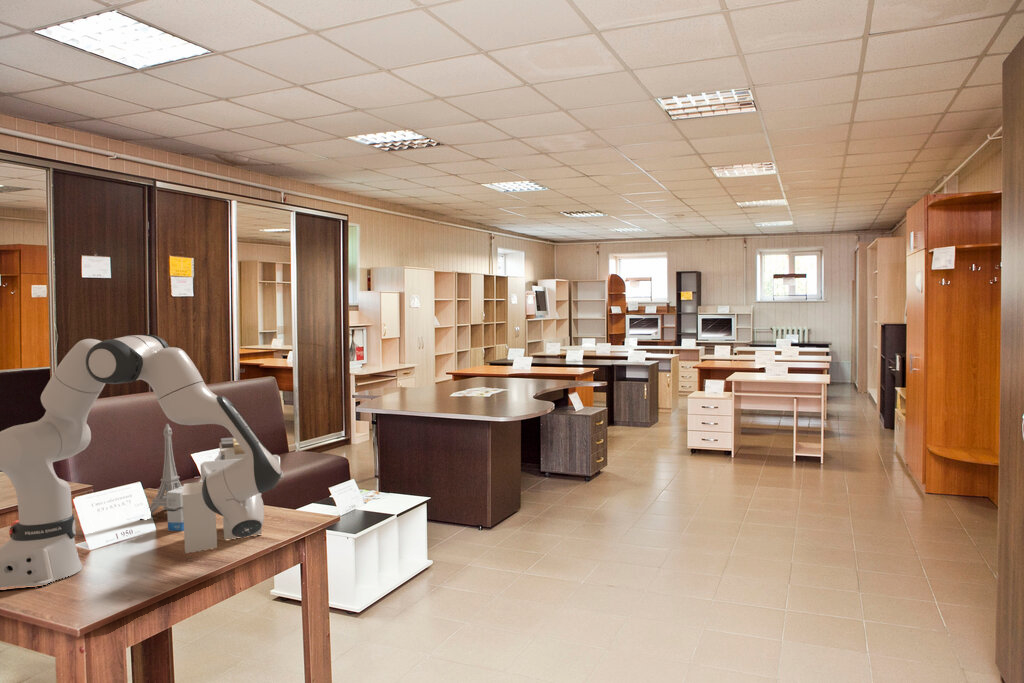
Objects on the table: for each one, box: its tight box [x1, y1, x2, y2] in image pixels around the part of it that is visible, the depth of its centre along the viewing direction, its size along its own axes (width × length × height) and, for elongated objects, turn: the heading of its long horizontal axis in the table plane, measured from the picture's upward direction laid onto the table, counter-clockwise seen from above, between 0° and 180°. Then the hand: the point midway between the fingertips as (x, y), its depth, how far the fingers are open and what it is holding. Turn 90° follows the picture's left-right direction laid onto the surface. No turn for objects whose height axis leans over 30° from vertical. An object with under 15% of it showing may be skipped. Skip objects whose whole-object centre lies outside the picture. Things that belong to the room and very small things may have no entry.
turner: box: [220, 436, 246, 455], centre depth 198 cm, size 23×9×3 cm, turn 24°
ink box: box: [166, 485, 184, 532], centre depth 208 cm, size 8×5×12 cm, turn 168°
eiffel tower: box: [148, 423, 183, 515], centre depth 222 cm, size 13×13×30 cm
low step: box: [182, 481, 218, 554], centre depth 192 cm, size 8×14×16 cm, turn 24°
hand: (240, 451), depth 189 cm, fingers open, 8 cm apart
